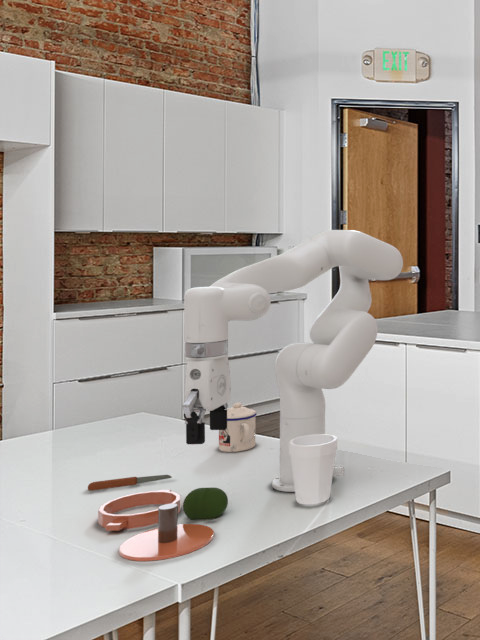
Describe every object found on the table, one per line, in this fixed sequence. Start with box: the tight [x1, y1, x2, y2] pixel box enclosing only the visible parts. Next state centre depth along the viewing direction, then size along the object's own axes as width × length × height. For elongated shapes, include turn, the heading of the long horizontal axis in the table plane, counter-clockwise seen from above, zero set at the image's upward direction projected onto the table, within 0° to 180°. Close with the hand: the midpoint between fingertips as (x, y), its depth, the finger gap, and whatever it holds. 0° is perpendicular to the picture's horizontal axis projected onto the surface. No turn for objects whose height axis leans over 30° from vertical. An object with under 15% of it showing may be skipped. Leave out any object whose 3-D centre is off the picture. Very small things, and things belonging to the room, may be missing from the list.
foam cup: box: [289, 433, 338, 506], centre depth 154 cm, size 10×9×13 cm
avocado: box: [182, 487, 229, 521], centre depth 144 cm, size 8×6×6 cm
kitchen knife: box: [87, 474, 172, 491], centre depth 163 cm, size 16×1×2 cm, turn 118°
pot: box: [97, 489, 182, 532], centre depth 145 cm, size 14×19×3 cm
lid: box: [118, 504, 215, 562], centre depth 132 cm, size 15×15×7 cm
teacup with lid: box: [218, 402, 257, 453], centre depth 192 cm, size 12×9×12 cm
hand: (207, 436), depth 145 cm, fingers open, 9 cm apart
